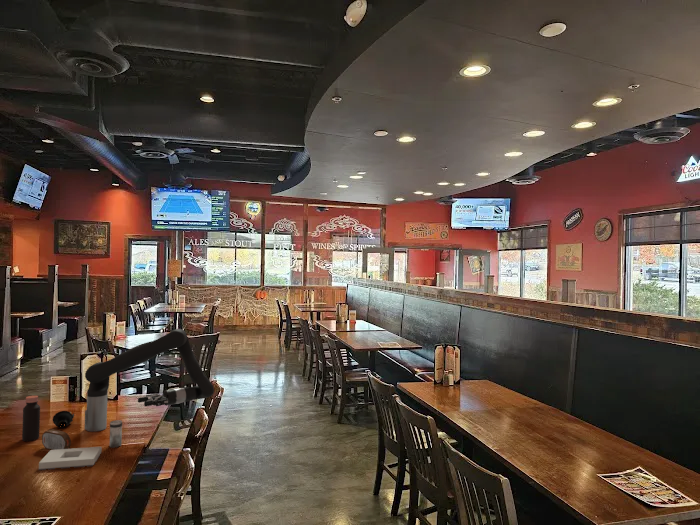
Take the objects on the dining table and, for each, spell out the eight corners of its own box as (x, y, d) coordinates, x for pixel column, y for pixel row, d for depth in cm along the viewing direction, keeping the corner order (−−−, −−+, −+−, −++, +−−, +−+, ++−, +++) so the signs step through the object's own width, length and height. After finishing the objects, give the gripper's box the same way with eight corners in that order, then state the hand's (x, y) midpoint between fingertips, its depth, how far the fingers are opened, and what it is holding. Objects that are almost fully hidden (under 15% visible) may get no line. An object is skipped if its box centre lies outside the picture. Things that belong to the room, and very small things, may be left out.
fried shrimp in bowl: (49, 422, 238) (50, 402, 253) (58, 438, 243) (59, 417, 258) (69, 414, 241) (68, 394, 256) (78, 429, 246) (77, 409, 261)
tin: (71, 451, 215) (71, 432, 215) (65, 453, 212) (65, 434, 212) (46, 446, 220) (47, 427, 220) (40, 448, 217) (40, 429, 217)
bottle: (42, 438, 229) (43, 396, 230) (27, 442, 223) (29, 399, 224) (33, 435, 232) (34, 394, 233) (18, 440, 226) (20, 397, 226)
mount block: (38, 470, 194) (38, 462, 194) (50, 456, 207) (50, 449, 208) (93, 466, 199) (93, 458, 199) (101, 453, 213) (101, 446, 213)
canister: (106, 446, 220) (107, 422, 220) (115, 443, 225) (115, 419, 225) (115, 448, 219) (116, 424, 219) (124, 444, 224) (125, 420, 224)
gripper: (168, 386, 246) (136, 391, 235) (180, 391, 235) (146, 397, 224) (168, 400, 246) (135, 406, 235) (180, 407, 235) (146, 413, 224)
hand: (141, 402), depth 230 cm, fingers open, 8 cm apart
